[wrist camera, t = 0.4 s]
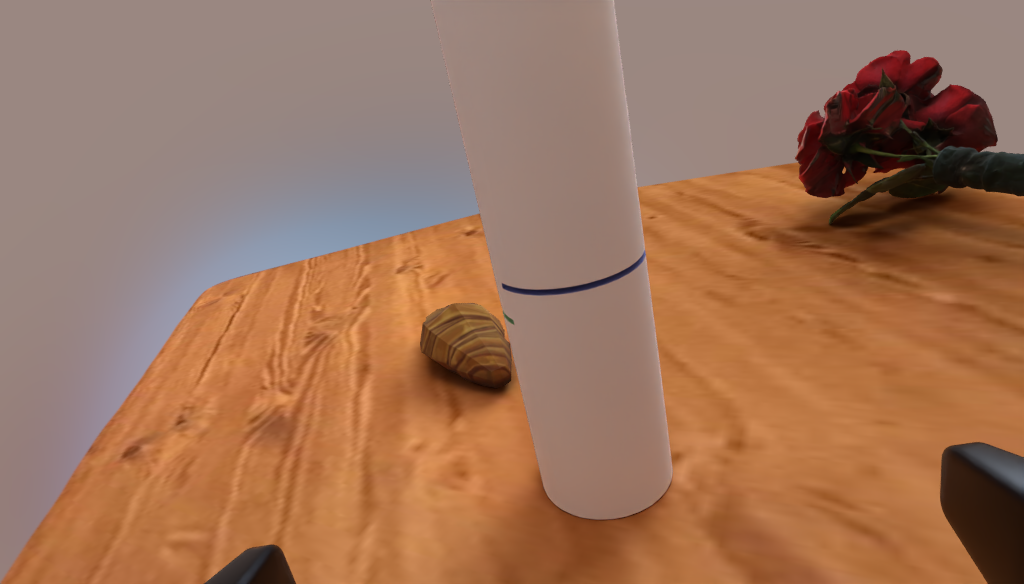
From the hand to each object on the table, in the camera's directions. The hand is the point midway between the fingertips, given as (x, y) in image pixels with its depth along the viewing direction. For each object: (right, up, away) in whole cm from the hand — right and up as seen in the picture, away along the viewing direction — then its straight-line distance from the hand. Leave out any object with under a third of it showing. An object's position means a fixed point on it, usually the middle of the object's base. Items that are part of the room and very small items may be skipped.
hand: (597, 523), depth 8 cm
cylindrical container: (+4, -7, +25) cm, 27 cm away
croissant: (-5, -2, +41) cm, 41 cm away
